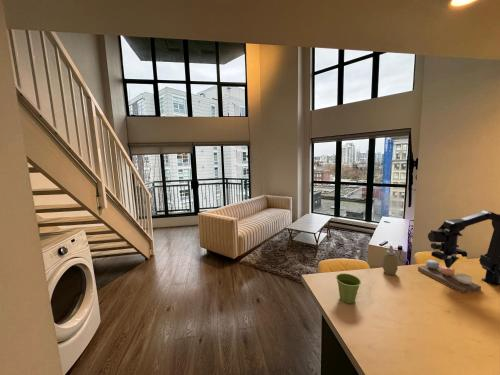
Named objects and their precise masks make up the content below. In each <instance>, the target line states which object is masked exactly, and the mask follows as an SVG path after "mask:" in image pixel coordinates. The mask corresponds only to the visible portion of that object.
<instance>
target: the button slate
mask: <svg viewBox="0 0 500 375" xmlns="http://www.w3.org/2000/svg"><path fill="white" fill-rule="evenodd" d="M425 266H428V267H430V268H431V269H432V270H434V269H438V268H439V267H440V262H439V261H438V260H435V259H434V260H433V259H426V265H425Z"/></svg>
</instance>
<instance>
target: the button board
mask: <svg viewBox="0 0 500 375" xmlns="http://www.w3.org/2000/svg"><path fill="white" fill-rule="evenodd" d="M417 271H419V272H420V273H423V274H424V275H426V276H428V277H430V278H432V279H434V280H436V281H438V282H440V283H442V284H444V285H446V286H447V287H449V288H451V289H453V290H455V291H457V292H459V293H461V294H469V293H475V292H481V290H482V286H481V285H479V284H477V283H474V282H473V281H472V284H466V285H463V284H462V283H461V282H459V281H457V274H455V273H454V276H449V277H446V276H445V275H444V274H442V273H441V272H440V271H441V266H439V268H438V269H434V270H432V269H431V268H430V267H428V266H426V265H421V266H418V267H417Z"/></svg>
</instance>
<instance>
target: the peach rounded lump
mask: <svg viewBox="0 0 500 375" xmlns="http://www.w3.org/2000/svg"><path fill="white" fill-rule="evenodd" d="M440 268H441V271H440V272H441V273H442V274H444V275H445V276H446V277H449V276H454V274H455V273H456V270H455V269H454V268H453V267H452V266H451V267H450V268H447V267H446V265H442V266H440Z"/></svg>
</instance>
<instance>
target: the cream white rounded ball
mask: <svg viewBox="0 0 500 375" xmlns="http://www.w3.org/2000/svg"><path fill="white" fill-rule="evenodd" d="M456 275H457V281H459V282H461V283H462V284H463V285H466V284H472V282H473V276H471V275H468V274H466V273H461V272H459V273H458V272H457V274H456Z"/></svg>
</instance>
